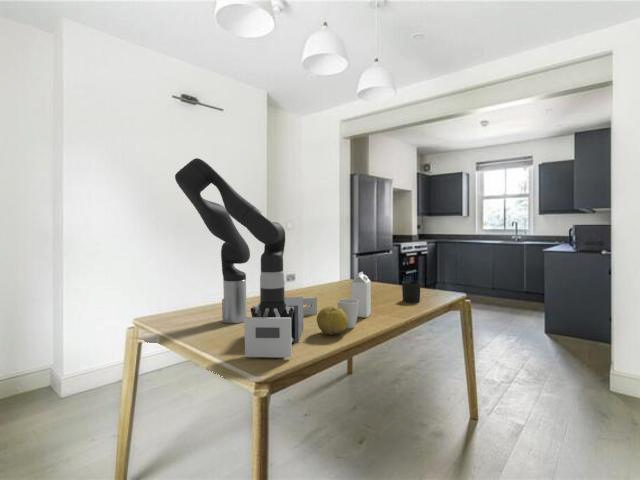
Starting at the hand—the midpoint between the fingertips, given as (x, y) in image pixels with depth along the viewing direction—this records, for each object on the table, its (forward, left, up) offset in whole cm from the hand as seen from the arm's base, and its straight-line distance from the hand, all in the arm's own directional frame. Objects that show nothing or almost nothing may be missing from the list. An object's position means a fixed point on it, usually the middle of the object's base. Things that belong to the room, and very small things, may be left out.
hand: (273, 339), depth 111 cm
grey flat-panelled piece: (0, -1, -3) cm, 3 cm away
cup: (+24, +28, -4) cm, 37 cm away
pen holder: (+58, +78, -4) cm, 97 cm away
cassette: (+5, +46, -4) cm, 46 cm away
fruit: (+18, +18, -4) cm, 26 cm away
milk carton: (+30, +46, -4) cm, 55 cm away
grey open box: (0, +16, -3) cm, 16 cm away
